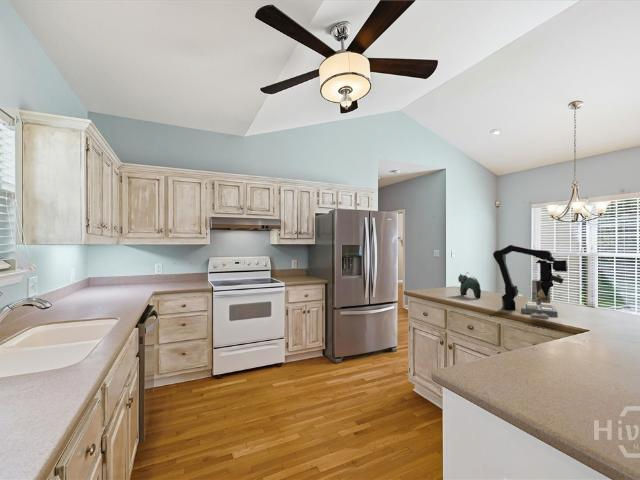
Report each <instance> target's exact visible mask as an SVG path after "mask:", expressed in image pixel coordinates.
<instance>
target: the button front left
mask: <svg viewBox="0 0 640 480" xmlns="http://www.w3.org/2000/svg"><path fill="white" fill-rule="evenodd" d="M526 304H527V303H526ZM537 305H538V304H527V308H531V309H537Z"/></svg>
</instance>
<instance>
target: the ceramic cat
mask: <svg viewBox="0 0 640 480" xmlns="http://www.w3.org/2000/svg"><path fill="white" fill-rule="evenodd" d="M467 274H468V275H470V273H469V272H468V271H466V273H465V274H464V275H463V274H462V273H460V274H459V276H458V279H457V280H458V282H459V283H460V289H459V291H460V294H461V295H467V292H468V290H469V289H470V290H471V291H472V292H473V296H474V298H475V297H476V298H480V299H481V297H482V296H481V295H482V290H481V285H480V284H481V283H480V282H479V281H478V279H477V278H476V277H474V276H470V277H468V275H467ZM461 295H460V296H461Z"/></svg>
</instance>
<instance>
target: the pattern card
mask: <svg viewBox="0 0 640 480" xmlns="http://www.w3.org/2000/svg"><path fill="white" fill-rule="evenodd" d="M530 316H531V318H535V317H536V318H537V319H547V320H549V316H548V314H539V313H531V314H530Z"/></svg>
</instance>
